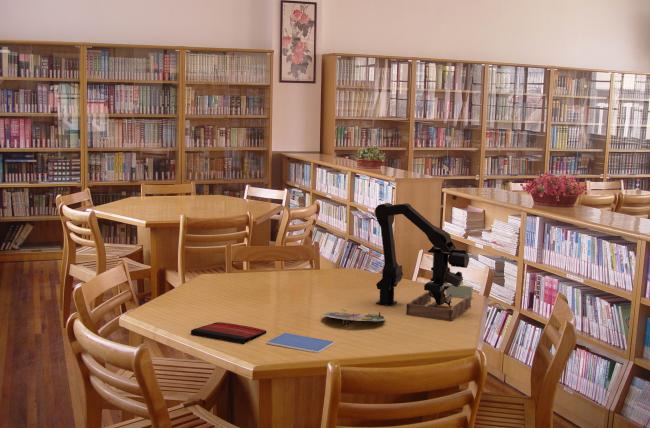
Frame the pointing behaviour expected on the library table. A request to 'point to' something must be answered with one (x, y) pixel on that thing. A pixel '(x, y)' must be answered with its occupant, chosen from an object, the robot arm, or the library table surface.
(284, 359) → the library table surface
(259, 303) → the library table surface
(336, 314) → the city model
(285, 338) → the blue book
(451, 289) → the stop rail
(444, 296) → the eagle figurine
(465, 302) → the crate
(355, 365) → the library table surface
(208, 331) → the binder
